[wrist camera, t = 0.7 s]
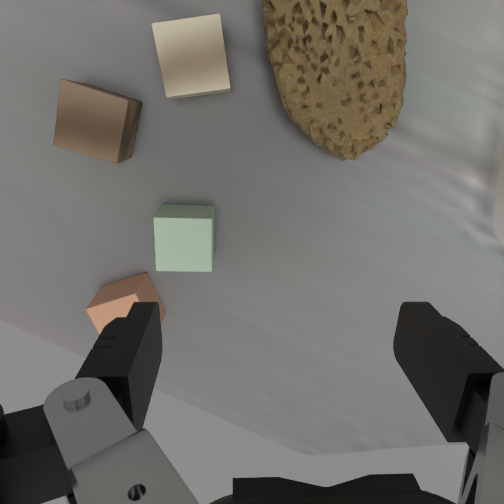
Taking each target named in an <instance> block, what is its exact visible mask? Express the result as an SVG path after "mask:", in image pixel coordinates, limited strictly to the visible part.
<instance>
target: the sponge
mask: <svg viewBox="0 0 504 504" xmlns="http://www.w3.org/2000/svg"><path fill="white" fill-rule="evenodd" d="M262 6H263V19H264V26H265V33H266V34H267V38H266V47H267V60H269V61H270V63H271V66H272V67H273V71H274V75H275V79H276V83H277V87H278V90H279V98H280V100H281V101H282V105H283V108H284V109H285V110H286V111H287V114H288V118H289V119H290V120H291V121H292V122H293V123H295V124H296V125H297V126H298V127H299V129H300V130H301V131H302V132H303V133H304V134H305V135H306V136H307V137H308V138H309V139H311V140H312V141H313V142H314V143H315V145H316V147H317V146H320V147H321V148H322V149H323V150H324V151H325V152H327V153H329V154H331V155H333V156H335V157H337V158H339V159H341V160H343V161H344V160H346V159H350V160H355V159H358V157H359V156H360V154H362V153H364V152H366V151H368V150H371V149H373V148H374V147H375V146H376V145H377V144H378V143H380V142H382V141H383V140H384V139H385V138H386V137H387V136H388V134H387V131H388V129H394V128H395V126H396V124H397V120H398V116H399V113H400V111H401V108H402V105H403V91H404V87H405V83H406V65H405V55H406V53H405V44H406V41H407V40H406V30H405V17H406V16H407V14H408V10H407V0H263V4H262Z"/></svg>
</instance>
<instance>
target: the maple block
mask: <svg viewBox="0 0 504 504" xmlns="http://www.w3.org/2000/svg"><path fill="white" fill-rule="evenodd" d="M151 24H152V29H153V34H154V39H155V44H156V49H157V54H158V59H159V63H160V68H161V73H162V78H163V83H164V88H165V93H166V97H167V98H171V99H182V98H188V97H195V96H202V95H209V94H216V93H223V92H230V91H231V90H230V82H229V75H228V68H227V61H226V54H225V47H224V40H223V33H222V26H221V19H220V14H213V15H206V16H199V17H193V18H186V19H179V20H172V21H165V22H158V23H151Z"/></svg>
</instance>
